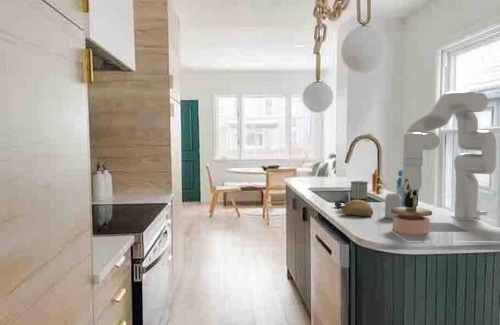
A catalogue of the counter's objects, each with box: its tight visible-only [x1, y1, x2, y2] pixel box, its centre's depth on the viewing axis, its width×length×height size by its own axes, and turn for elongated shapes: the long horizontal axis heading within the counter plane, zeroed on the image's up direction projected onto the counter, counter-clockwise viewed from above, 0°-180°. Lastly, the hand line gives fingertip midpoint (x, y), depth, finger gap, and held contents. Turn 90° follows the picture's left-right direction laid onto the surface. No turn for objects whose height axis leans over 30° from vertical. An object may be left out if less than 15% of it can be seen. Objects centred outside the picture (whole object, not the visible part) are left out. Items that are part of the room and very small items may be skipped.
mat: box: [429, 222, 469, 233], centre depth 182 cm, size 16×17×1 cm
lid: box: [391, 195, 433, 217], centre depth 174 cm, size 16×16×7 cm
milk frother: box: [334, 180, 369, 209], centre depth 229 cm, size 14×16×15 cm
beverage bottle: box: [396, 169, 410, 207], centre depth 238 cm, size 8×8×20 cm
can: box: [384, 192, 403, 220], centre depth 201 cm, size 8×8×12 cm
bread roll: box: [341, 199, 374, 218], centre depth 209 cm, size 10×15×8 cm, turn 76°
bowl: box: [392, 215, 430, 235], centre depth 174 cm, size 13×13×6 cm
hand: (411, 206), depth 174 cm, fingers closed on lid, 4 cm apart
